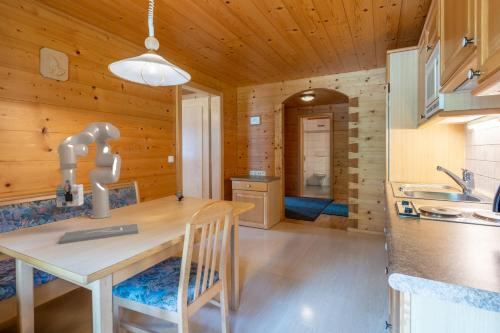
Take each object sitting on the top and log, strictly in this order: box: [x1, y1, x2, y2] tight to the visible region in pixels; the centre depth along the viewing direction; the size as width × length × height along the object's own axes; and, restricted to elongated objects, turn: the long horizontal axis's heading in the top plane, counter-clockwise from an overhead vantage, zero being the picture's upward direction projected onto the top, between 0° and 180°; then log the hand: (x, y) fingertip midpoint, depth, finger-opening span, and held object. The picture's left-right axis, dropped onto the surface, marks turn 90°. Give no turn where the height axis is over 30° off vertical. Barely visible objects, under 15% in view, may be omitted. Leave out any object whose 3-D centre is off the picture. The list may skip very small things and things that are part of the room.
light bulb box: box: [55, 183, 85, 208], centre depth 140 cm, size 11×7×11 cm, turn 105°
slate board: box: [59, 223, 139, 245], centre depth 138 cm, size 14×34×2 cm, turn 116°
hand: (70, 199), depth 141 cm, fingers closed on light bulb box, 7 cm apart
